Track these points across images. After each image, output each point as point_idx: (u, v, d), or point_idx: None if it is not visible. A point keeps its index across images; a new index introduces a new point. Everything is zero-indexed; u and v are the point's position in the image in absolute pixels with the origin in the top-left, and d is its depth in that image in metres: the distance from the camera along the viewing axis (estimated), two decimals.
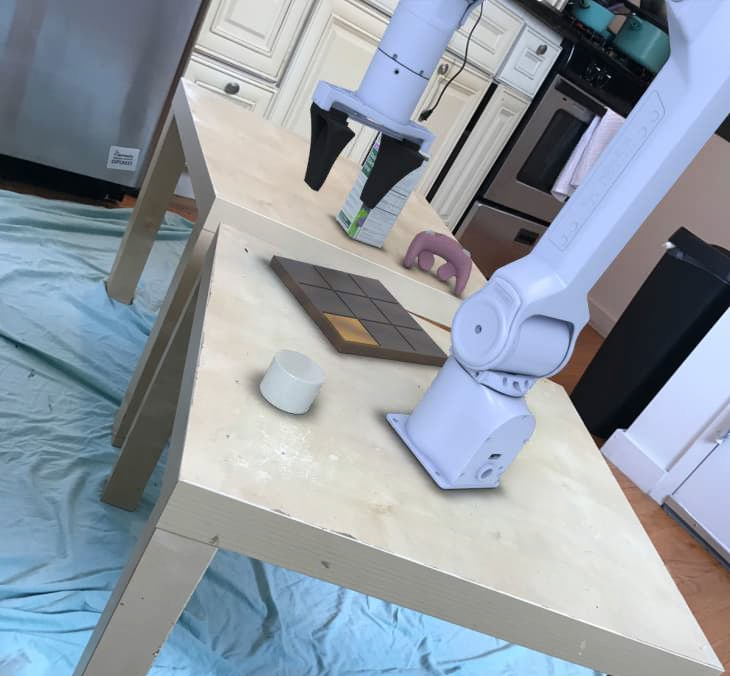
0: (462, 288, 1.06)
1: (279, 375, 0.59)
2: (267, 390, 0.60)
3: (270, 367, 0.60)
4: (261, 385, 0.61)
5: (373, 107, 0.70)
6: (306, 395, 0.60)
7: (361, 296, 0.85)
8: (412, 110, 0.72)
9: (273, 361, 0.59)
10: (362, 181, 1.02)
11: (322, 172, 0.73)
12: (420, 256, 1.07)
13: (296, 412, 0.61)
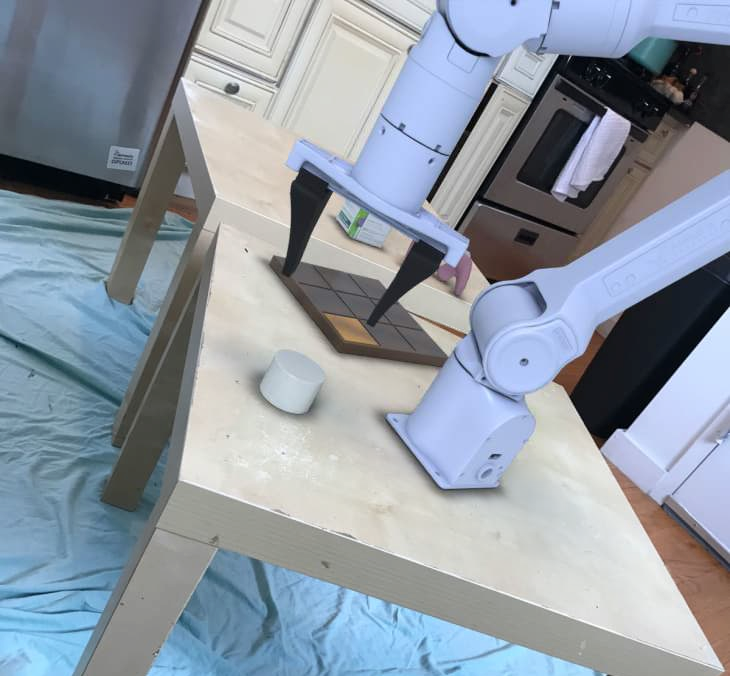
0: (462, 288, 1.06)
1: (279, 375, 0.59)
2: (267, 390, 0.60)
3: (270, 367, 0.60)
4: (261, 385, 0.61)
5: (354, 176, 0.53)
6: (306, 395, 0.60)
7: (361, 296, 0.85)
8: (408, 189, 0.52)
9: (273, 361, 0.59)
10: None
11: (289, 250, 0.57)
12: None
13: (296, 412, 0.61)
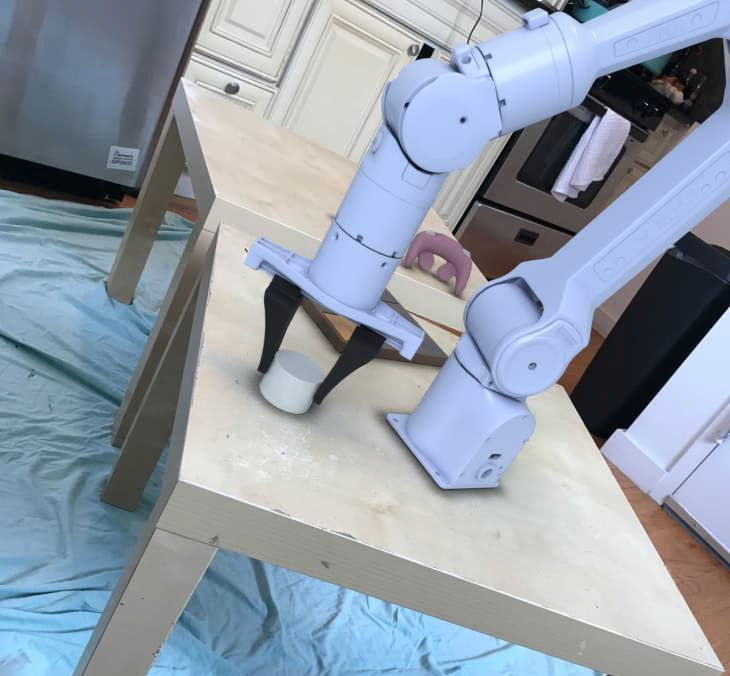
0: (462, 288, 1.06)
1: (278, 375, 0.59)
2: (267, 390, 0.60)
3: (270, 367, 0.60)
4: (261, 385, 0.61)
5: (311, 276, 0.55)
6: (305, 395, 0.60)
7: None
8: (362, 290, 0.54)
9: (273, 361, 0.59)
10: None
11: (264, 350, 0.59)
12: (420, 256, 1.07)
13: (296, 412, 0.61)
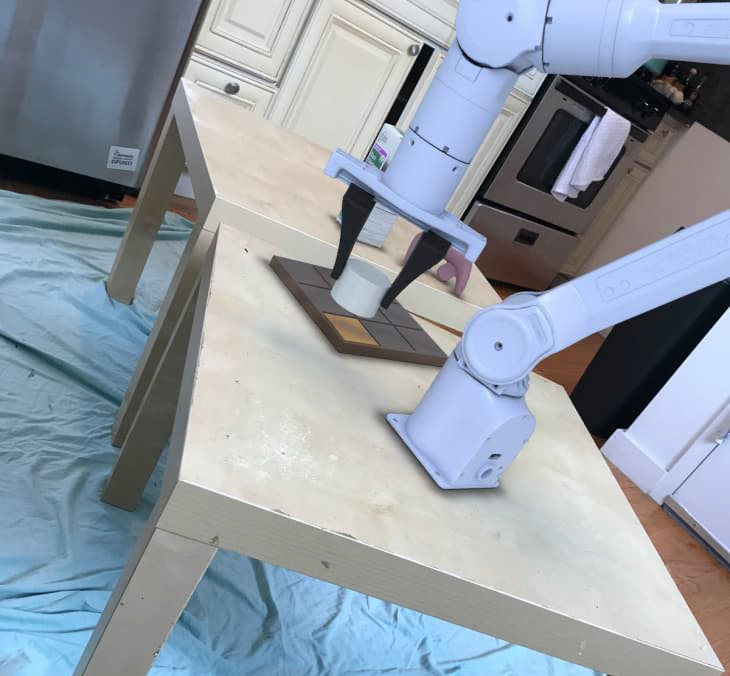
0: (462, 288, 1.06)
1: (351, 279, 0.64)
2: (339, 294, 0.65)
3: (342, 273, 0.65)
4: (332, 291, 0.66)
5: (386, 182, 0.60)
6: (375, 299, 0.65)
7: None
8: (434, 193, 0.59)
9: (345, 267, 0.64)
10: None
11: (338, 256, 0.64)
12: None
13: (365, 316, 0.66)
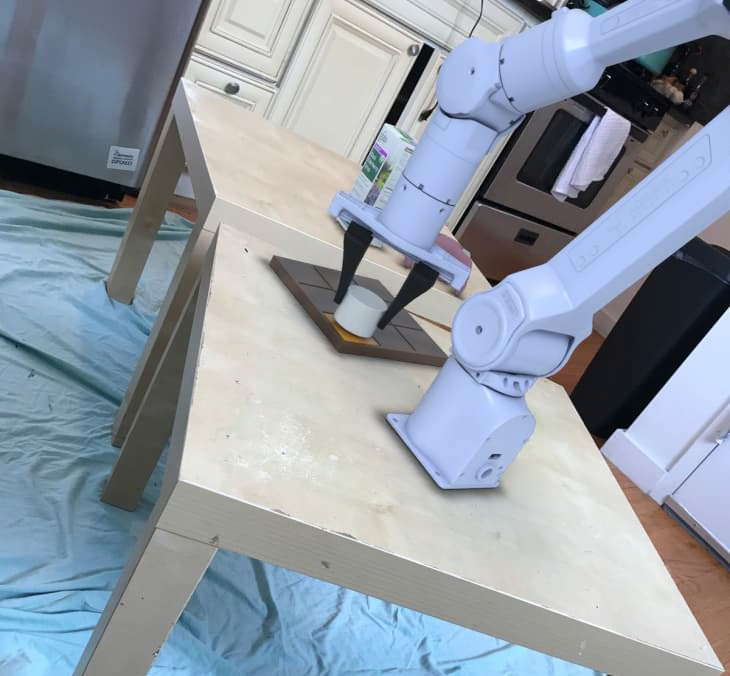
0: (462, 288, 1.06)
1: (351, 304, 0.73)
2: (341, 317, 0.74)
3: (343, 298, 0.74)
4: (335, 314, 0.75)
5: (382, 221, 0.69)
6: (372, 321, 0.74)
7: None
8: (423, 231, 0.68)
9: (346, 293, 0.73)
10: (362, 181, 1.02)
11: (340, 284, 0.73)
12: None
13: (364, 336, 0.75)
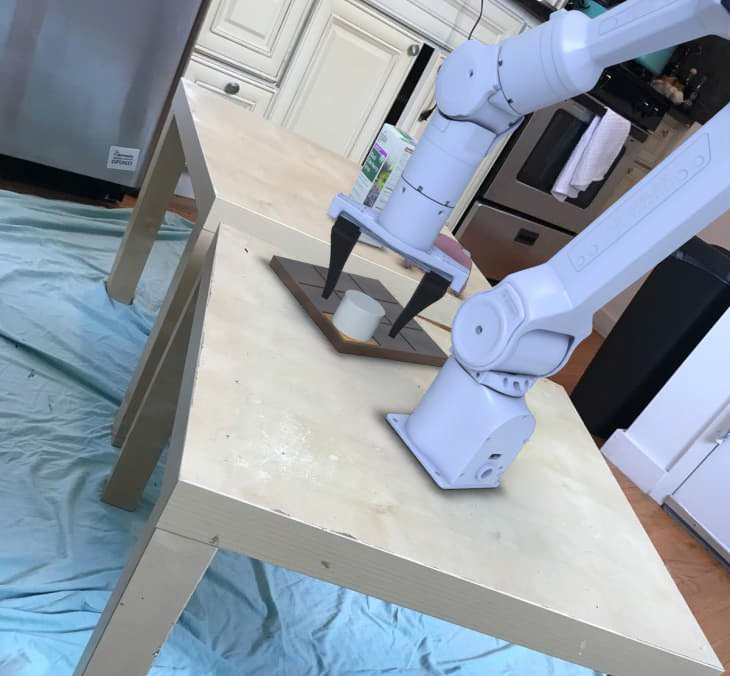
0: (462, 288, 1.06)
1: (349, 309, 0.73)
2: (339, 322, 0.74)
3: (341, 303, 0.74)
4: (333, 318, 0.75)
5: (381, 223, 0.69)
6: (370, 326, 0.74)
7: None
8: (422, 233, 0.68)
9: (344, 298, 0.74)
10: (362, 181, 1.02)
11: (328, 279, 0.72)
12: None
13: (361, 340, 0.75)
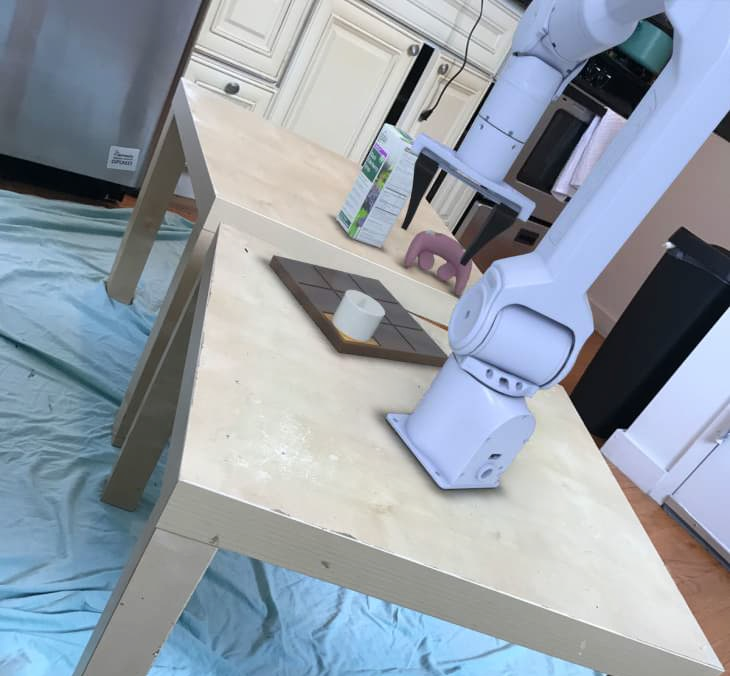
0: (462, 288, 1.06)
1: (349, 309, 0.73)
2: (339, 322, 0.74)
3: (341, 303, 0.74)
4: (333, 318, 0.75)
5: (459, 158, 0.78)
6: (370, 326, 0.74)
7: None
8: (497, 166, 0.77)
9: (344, 298, 0.74)
10: (362, 181, 1.02)
11: (408, 211, 0.81)
12: (420, 256, 1.07)
13: (361, 340, 0.75)
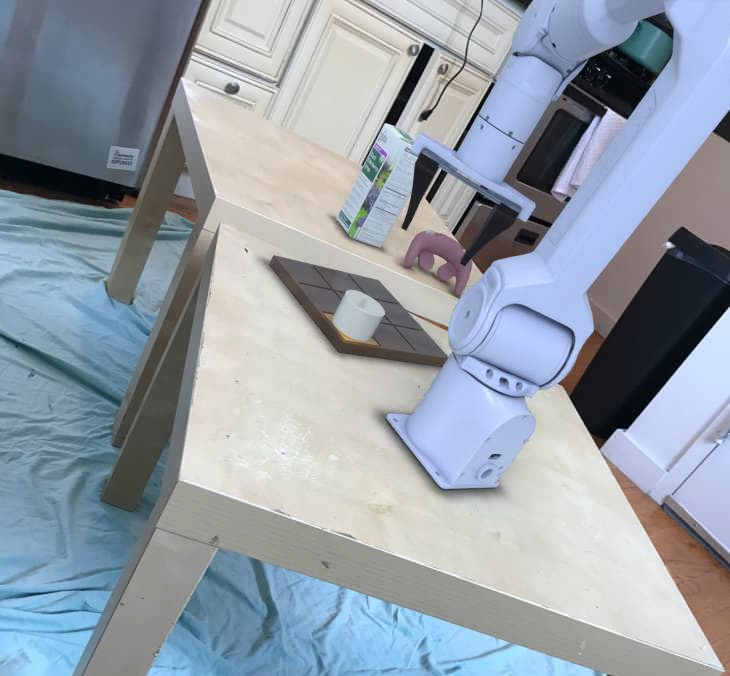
0: (462, 288, 1.06)
1: (349, 309, 0.73)
2: (339, 322, 0.74)
3: (341, 303, 0.74)
4: (333, 318, 0.75)
5: (459, 158, 0.78)
6: (370, 326, 0.74)
7: None
8: (497, 166, 0.77)
9: (344, 298, 0.74)
10: (362, 181, 1.02)
11: (408, 211, 0.81)
12: (420, 256, 1.07)
13: (361, 340, 0.75)
